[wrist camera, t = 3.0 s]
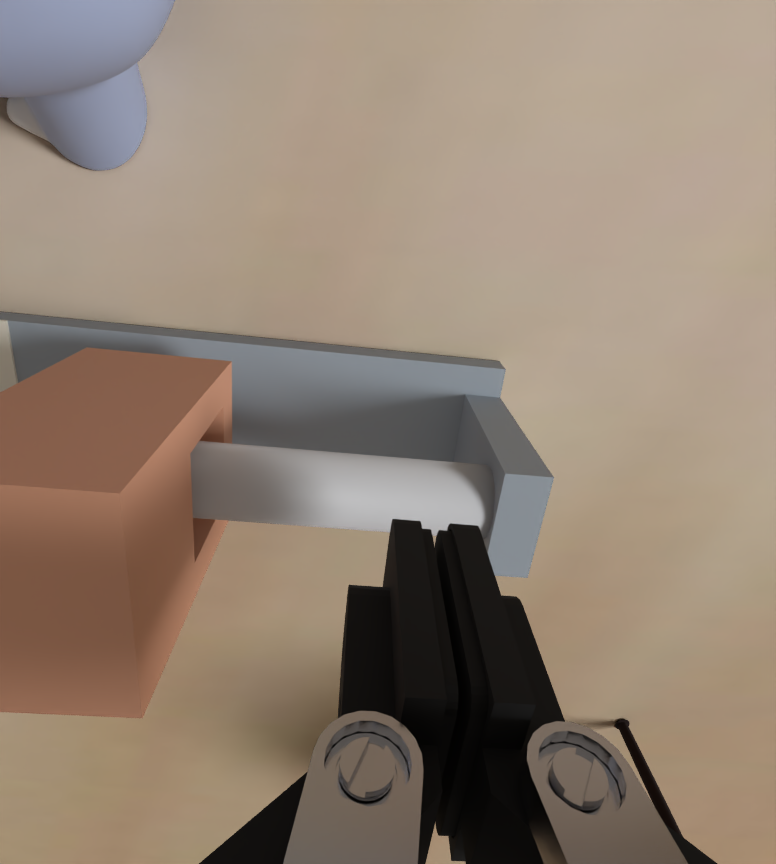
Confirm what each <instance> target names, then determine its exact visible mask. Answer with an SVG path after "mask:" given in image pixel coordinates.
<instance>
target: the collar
mask: <svg viewBox="0 0 776 864" xmlns="http://www.w3.org/2000/svg"><path fill="white" fill-rule="evenodd" d="M199 441H208V442H219V443H231V444H232V361H224V360H214V359H203V358H193V357H182V356H172V355H161V354H151V353H140V352H130V351H119V350H109V349H99V348H88V347H86V348H85V349H83V350H81V351H79V352H77V353H75V354H73V355H71V356H69V357H67V358H65V359H63V360H61V361H60V362H58V363H56V364H54V365H52V366H50V367H48V368H46V369H44V370H42V371H40V372H38V373H36V374H35V375H33V376H31V377H29V378H27V379H25V380H23V381H21V382H19V383H17V384H15V385H13V386H11V387H10V388H8V389H6V390H4V391H2V392H0V712H14V713H36V714H59V715H81V716H104V717H126V718H143V716H144V713H145V711H146V709H147V707H148V704H149V702H150V700H151V697H152V695H153V693H154V690H155V688H156V686H157V684H158V681H159V679H160V677H161V674H162V672H163V670H164V668H165V665H166V663H167V661H168V658H169V656H170V654H171V651H172V649H173V647H174V645H175V642H176V640H177V638H178V635H179V633H180V631H181V628H182V626H183V624H184V622H185V619H186V617H187V615H188V612H189V610H190V608H191V605H192V603H193V601H194V599H195V596H196V594H197V592H198V589H199V587H200V585H201V583H202V580H203V578H204V576H205V573H206V571H207V569H208V566H209V564H210V562H211V560H212V557H213V555H214V553H215V550H216V548H217V546H218V543H219V541H220V539H221V537H222V534H223V532H224V530H225V527H226V525H227V523H228V520H215V519H201V518H193V508H192V483H191V458H190V453H191V452H192V450H193V449H194V448H195V446H196V445H197V443H198V442H199Z"/></svg>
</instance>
